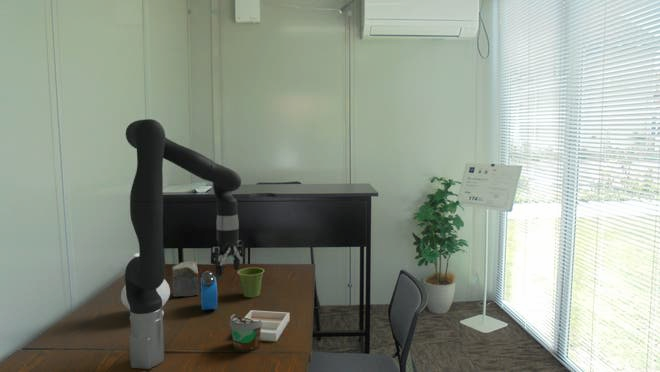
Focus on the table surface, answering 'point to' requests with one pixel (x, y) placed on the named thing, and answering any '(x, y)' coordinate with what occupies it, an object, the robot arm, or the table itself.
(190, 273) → the geological specimen
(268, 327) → the tray
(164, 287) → the decorative vase
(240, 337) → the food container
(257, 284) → the plant pot
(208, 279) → the alarm clock
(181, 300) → the table surface
